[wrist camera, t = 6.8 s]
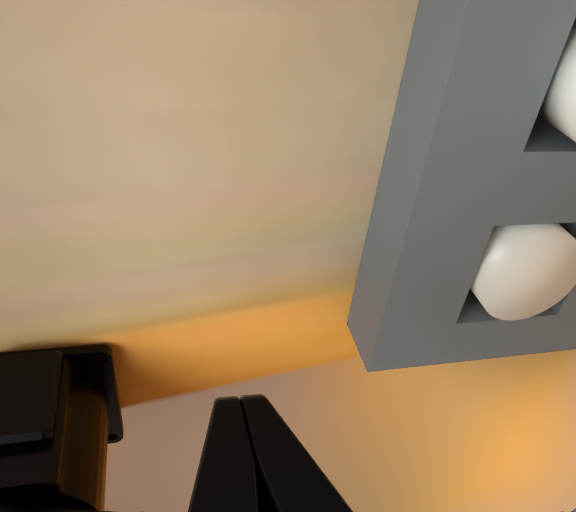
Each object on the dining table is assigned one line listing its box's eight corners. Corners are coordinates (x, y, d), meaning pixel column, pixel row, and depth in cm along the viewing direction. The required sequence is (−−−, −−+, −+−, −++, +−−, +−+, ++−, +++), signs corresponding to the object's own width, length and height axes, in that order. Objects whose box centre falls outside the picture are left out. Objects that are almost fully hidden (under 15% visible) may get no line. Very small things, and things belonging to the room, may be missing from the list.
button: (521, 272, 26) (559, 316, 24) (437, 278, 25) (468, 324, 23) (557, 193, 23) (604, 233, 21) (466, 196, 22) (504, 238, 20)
